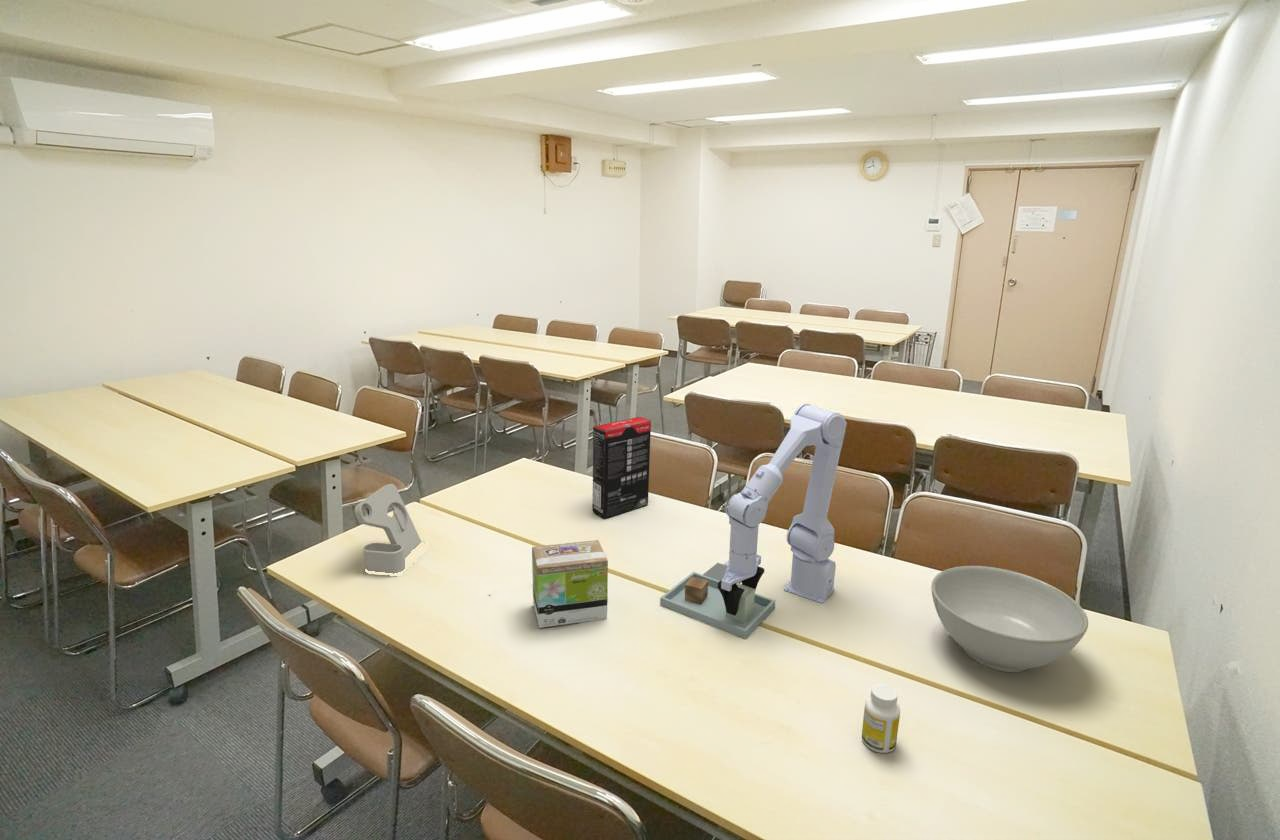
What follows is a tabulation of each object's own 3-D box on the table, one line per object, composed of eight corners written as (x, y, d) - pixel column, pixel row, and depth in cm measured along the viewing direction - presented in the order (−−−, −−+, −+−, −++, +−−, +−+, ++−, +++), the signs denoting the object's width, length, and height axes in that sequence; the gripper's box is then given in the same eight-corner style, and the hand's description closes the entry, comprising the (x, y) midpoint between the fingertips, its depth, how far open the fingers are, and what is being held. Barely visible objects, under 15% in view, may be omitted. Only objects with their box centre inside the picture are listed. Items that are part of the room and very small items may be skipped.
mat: (749, 574, 159) (750, 573, 159) (732, 590, 152) (732, 589, 152) (717, 564, 164) (717, 562, 164) (699, 578, 157) (699, 577, 157)
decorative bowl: (895, 629, 138) (902, 578, 135) (990, 604, 147) (999, 556, 144) (1003, 714, 114) (1015, 655, 110) (1109, 679, 123) (1123, 623, 120)
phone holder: (399, 578, 156) (391, 509, 151) (360, 574, 158) (351, 506, 153) (432, 544, 173) (426, 481, 168) (397, 541, 174) (390, 479, 169)
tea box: (538, 630, 137) (535, 567, 132) (533, 605, 146) (530, 545, 142) (608, 620, 140) (608, 558, 136) (599, 595, 150) (598, 537, 145)
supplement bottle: (887, 729, 110) (894, 680, 108) (901, 754, 105) (908, 703, 102) (856, 729, 110) (862, 680, 107) (868, 754, 105) (874, 703, 102)
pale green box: (753, 613, 143) (755, 588, 141) (743, 623, 139) (745, 597, 138) (735, 606, 145) (736, 582, 144) (725, 615, 142) (726, 591, 140)
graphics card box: (636, 498, 203) (637, 414, 195) (651, 505, 198) (652, 419, 190) (591, 512, 193) (590, 424, 185) (605, 520, 188) (605, 430, 180)
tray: (774, 608, 145) (775, 600, 144) (745, 639, 134) (746, 631, 133) (693, 579, 157) (693, 571, 156) (660, 605, 146) (660, 597, 145)
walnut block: (707, 596, 149) (708, 580, 148) (701, 604, 146) (701, 588, 145) (691, 591, 151) (691, 576, 150) (684, 600, 148) (685, 584, 146)
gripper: (742, 531, 146) (738, 585, 149) (709, 556, 134) (706, 614, 138) (771, 540, 142) (767, 595, 146) (740, 566, 130) (736, 626, 134)
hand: (739, 605), depth 142 cm, fingers open, 7 cm apart
